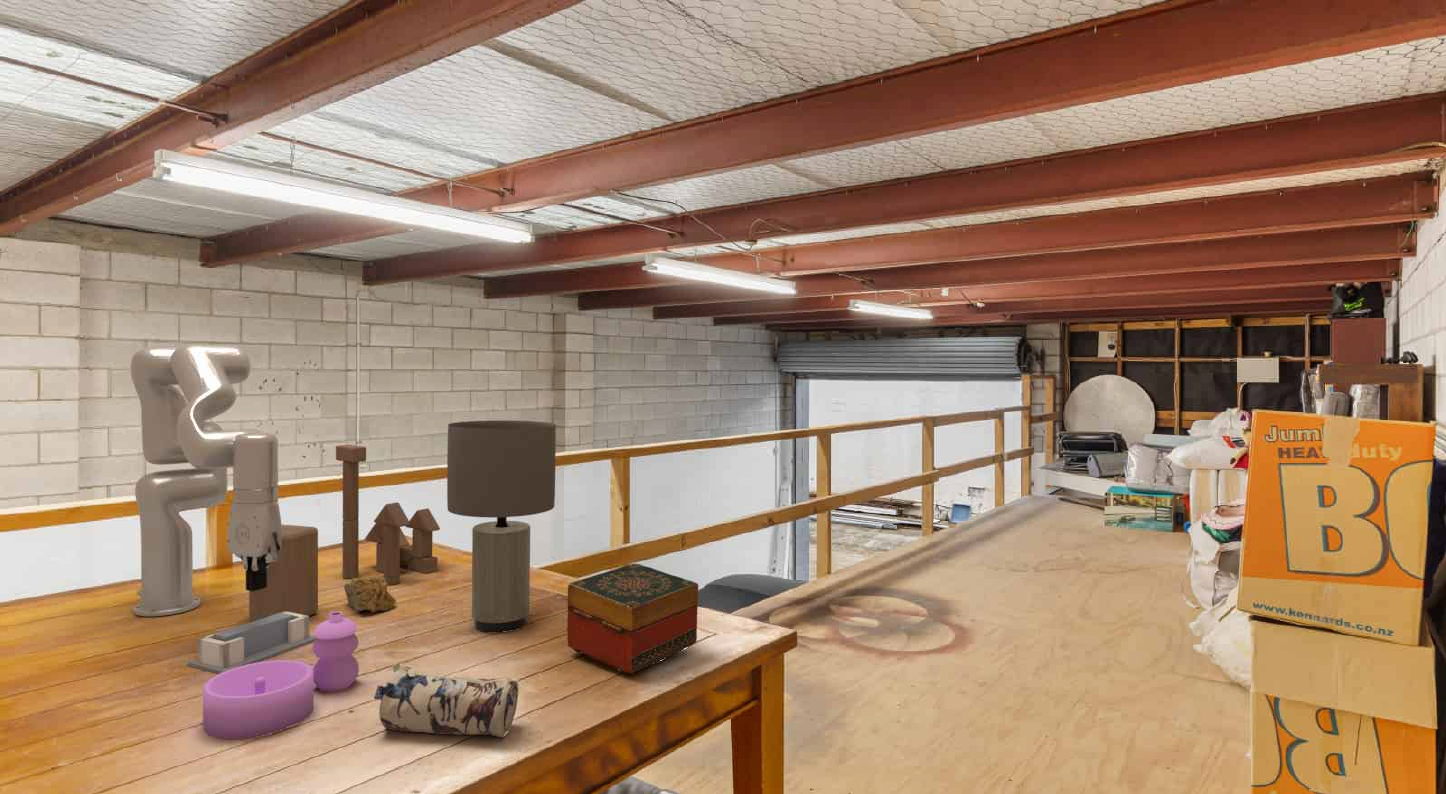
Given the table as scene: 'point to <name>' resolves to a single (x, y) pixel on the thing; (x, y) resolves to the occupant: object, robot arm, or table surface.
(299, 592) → the wooden block
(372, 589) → the rock
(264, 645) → the blue-grey rectangular bar
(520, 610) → the lamp
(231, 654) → the endcap board
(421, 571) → the building blocks
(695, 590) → the decorative box
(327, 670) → the container set
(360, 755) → the table surface
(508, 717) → the pencil case
